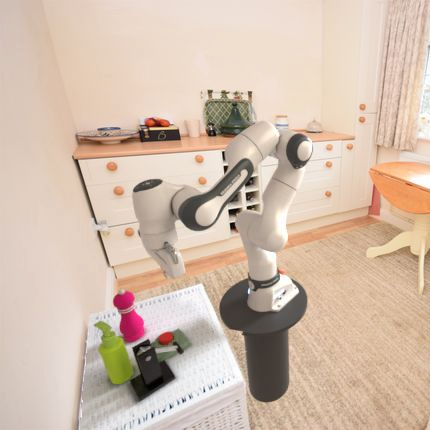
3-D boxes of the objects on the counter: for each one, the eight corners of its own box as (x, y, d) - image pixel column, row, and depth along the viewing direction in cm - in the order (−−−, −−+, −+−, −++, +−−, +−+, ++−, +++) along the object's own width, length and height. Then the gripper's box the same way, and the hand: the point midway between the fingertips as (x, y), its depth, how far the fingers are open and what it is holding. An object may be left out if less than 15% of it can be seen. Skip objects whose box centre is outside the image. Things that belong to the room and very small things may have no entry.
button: (170, 333, 100) (169, 329, 99) (175, 340, 98) (174, 336, 97) (157, 340, 97) (156, 336, 97) (162, 347, 95) (161, 343, 94)
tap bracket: (165, 362, 94) (156, 330, 88) (175, 378, 89) (167, 345, 83) (130, 383, 87) (118, 350, 81) (139, 401, 82) (127, 367, 77)
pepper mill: (151, 329, 106) (138, 284, 98) (136, 344, 100) (121, 298, 91) (133, 325, 107) (120, 281, 99) (117, 341, 101) (101, 295, 92)
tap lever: (175, 346, 93) (178, 339, 93) (182, 355, 90) (185, 348, 90) (134, 351, 84) (138, 344, 84) (141, 362, 81) (144, 354, 80)
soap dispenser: (123, 362, 93) (107, 314, 85) (137, 371, 91) (121, 323, 82) (104, 377, 88) (84, 328, 80) (118, 387, 86) (99, 337, 77)
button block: (179, 332, 105) (177, 324, 103) (189, 345, 100) (187, 336, 99) (146, 350, 98) (144, 342, 96) (155, 365, 93) (153, 356, 91)
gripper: (187, 246, 78) (194, 287, 84) (157, 222, 90) (165, 259, 96) (162, 254, 74) (172, 298, 79) (135, 228, 86) (145, 267, 92)
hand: (168, 276), depth 88 cm, fingers closed
